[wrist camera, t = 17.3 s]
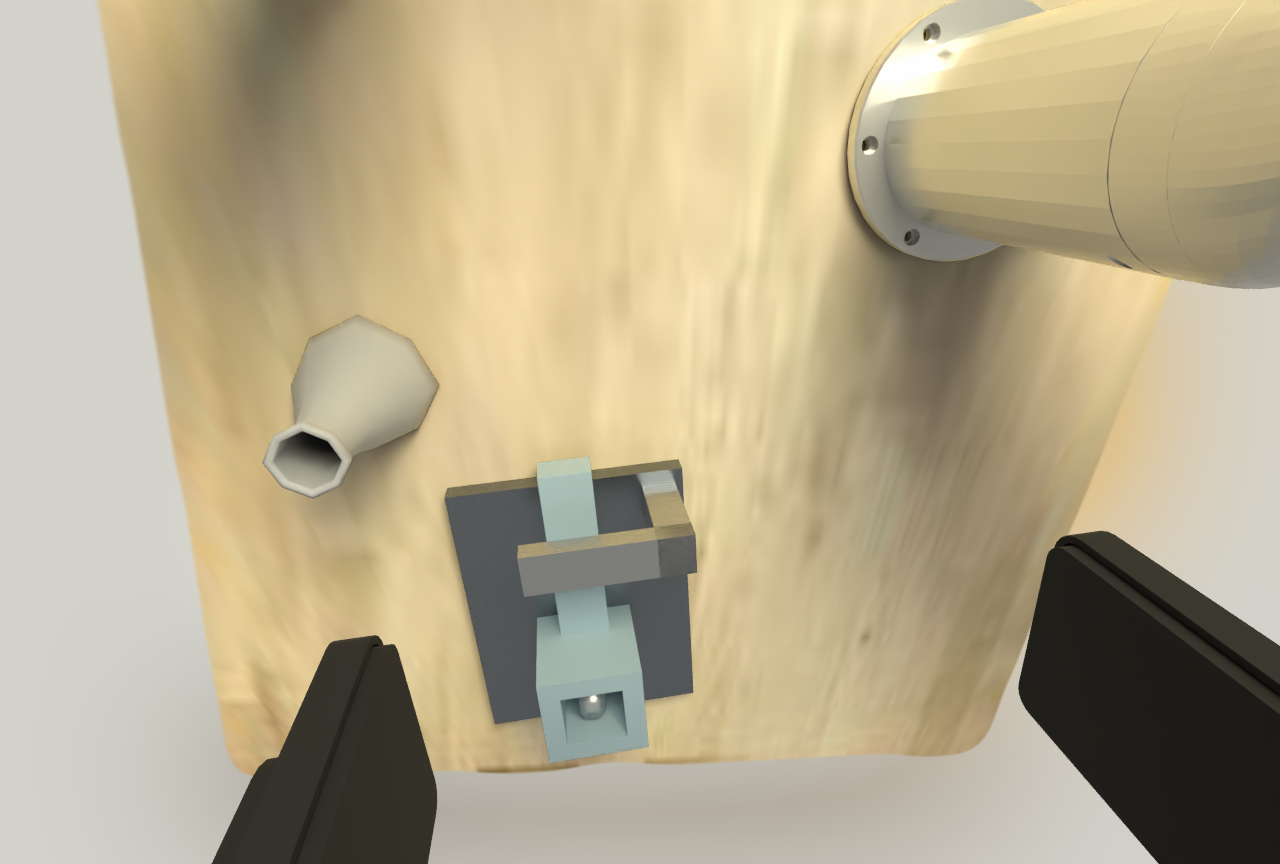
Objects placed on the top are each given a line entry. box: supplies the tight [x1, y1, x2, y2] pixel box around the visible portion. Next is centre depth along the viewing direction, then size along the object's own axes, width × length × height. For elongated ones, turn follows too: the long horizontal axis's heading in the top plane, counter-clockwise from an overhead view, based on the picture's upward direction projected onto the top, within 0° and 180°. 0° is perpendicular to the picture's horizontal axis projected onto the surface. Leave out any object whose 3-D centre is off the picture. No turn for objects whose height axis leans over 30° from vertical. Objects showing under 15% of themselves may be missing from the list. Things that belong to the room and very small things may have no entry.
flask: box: [263, 315, 439, 498], centre depth 31 cm, size 7×7×10 cm
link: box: [536, 457, 649, 763], centre depth 38 cm, size 17×6×6 cm, turn 4°
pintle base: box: [445, 460, 697, 724], centre depth 40 cm, size 14×18×7 cm
